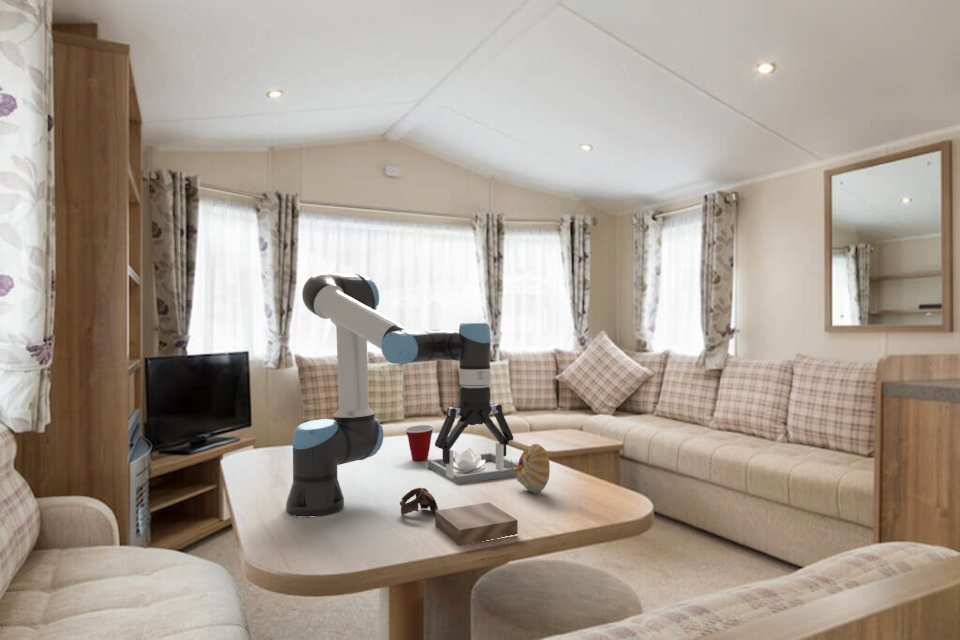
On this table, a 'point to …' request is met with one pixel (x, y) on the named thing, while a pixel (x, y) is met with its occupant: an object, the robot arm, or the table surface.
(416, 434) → the plastic cup
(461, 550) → the table surface
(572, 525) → the table surface
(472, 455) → the lotus flower
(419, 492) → the broken clay pottery vessel
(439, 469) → the slate frame
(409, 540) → the table surface
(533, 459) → the nautilus
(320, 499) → the robot arm
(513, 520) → the brown wooden square block
